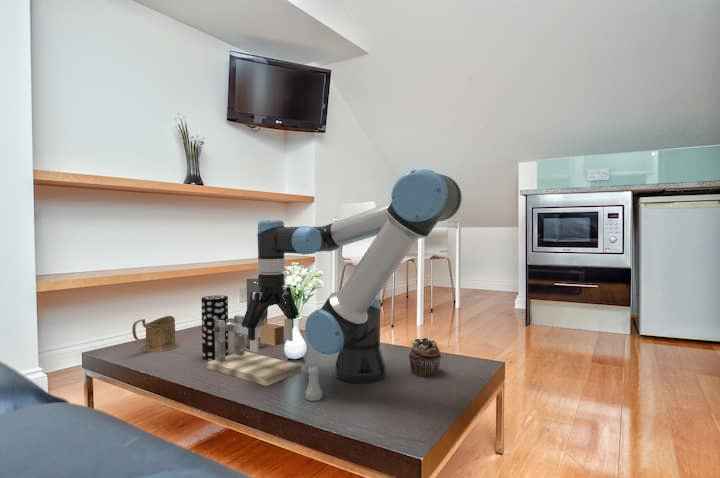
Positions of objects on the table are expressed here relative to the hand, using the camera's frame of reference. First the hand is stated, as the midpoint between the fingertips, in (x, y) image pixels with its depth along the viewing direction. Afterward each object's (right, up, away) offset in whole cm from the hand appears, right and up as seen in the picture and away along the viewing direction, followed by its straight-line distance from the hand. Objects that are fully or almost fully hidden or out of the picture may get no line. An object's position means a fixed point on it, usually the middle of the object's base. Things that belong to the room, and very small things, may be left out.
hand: (272, 345), depth 124 cm
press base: (-7, -9, +5) cm, 12 cm away
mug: (-47, -9, +27) cm, 55 cm away
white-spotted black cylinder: (-23, -9, +18) cm, 30 cm away
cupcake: (+45, -9, +2) cm, 46 cm away
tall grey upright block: (-12, -8, +35) cm, 38 cm away
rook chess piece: (+14, -9, -16) cm, 24 cm away
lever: (-7, +1, +5) cm, 9 cm away
